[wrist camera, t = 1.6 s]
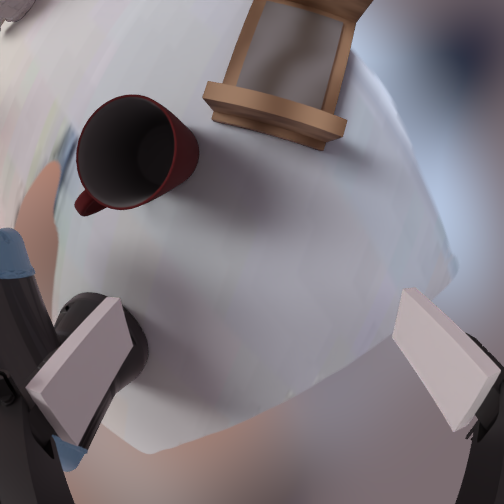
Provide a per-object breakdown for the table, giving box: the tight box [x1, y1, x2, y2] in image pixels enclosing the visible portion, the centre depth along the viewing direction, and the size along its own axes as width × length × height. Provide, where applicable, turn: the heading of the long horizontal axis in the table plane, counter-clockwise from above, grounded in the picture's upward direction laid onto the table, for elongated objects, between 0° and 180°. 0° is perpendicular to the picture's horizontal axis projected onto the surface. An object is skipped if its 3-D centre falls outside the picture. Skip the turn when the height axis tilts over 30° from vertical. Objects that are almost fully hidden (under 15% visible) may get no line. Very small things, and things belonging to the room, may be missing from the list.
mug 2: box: [74, 95, 199, 216], centre depth 23 cm, size 12×9×11 cm
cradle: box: [203, 0, 373, 151], centre depth 21 cm, size 12×20×7 cm, turn 165°
